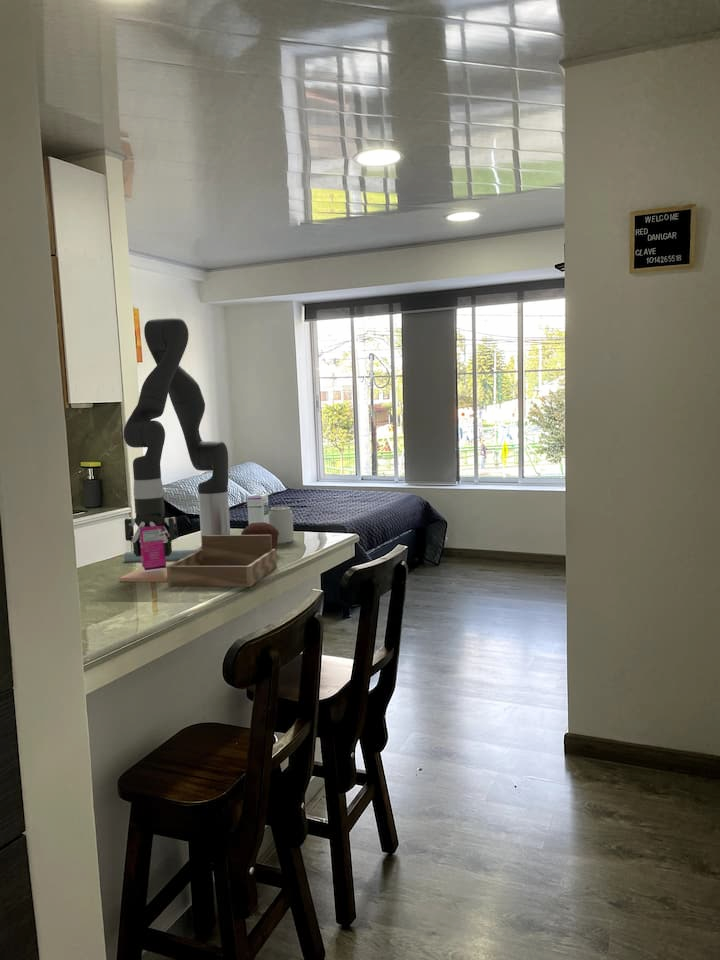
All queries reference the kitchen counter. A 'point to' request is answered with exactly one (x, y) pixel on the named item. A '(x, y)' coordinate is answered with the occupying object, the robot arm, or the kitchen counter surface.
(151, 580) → the terracotta tile
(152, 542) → the supplement box
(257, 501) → the syrup box
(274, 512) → the can
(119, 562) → the kitchen counter surface
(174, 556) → the aluminum foil
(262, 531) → the muffin
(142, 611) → the kitchen counter surface
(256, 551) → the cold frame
